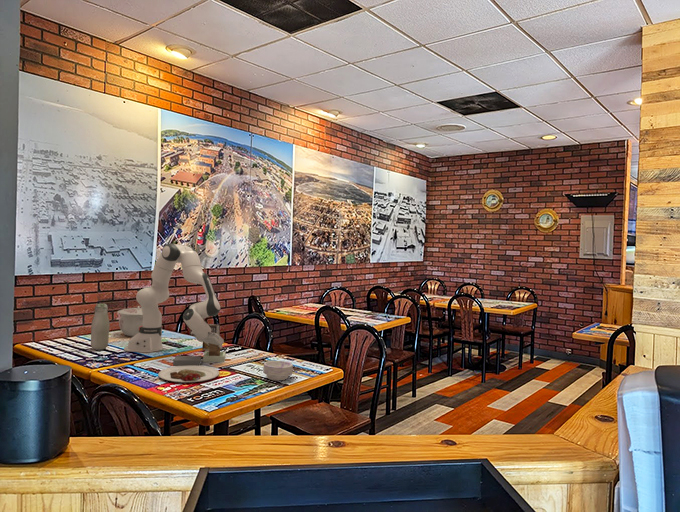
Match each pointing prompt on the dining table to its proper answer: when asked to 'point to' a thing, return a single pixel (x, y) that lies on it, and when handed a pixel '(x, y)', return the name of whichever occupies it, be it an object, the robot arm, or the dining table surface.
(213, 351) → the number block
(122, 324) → the chamber pot
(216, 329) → the coffee box
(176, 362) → the block
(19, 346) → the dining table surface
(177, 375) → the plated food
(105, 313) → the glass bottle
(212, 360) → the holder
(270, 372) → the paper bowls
